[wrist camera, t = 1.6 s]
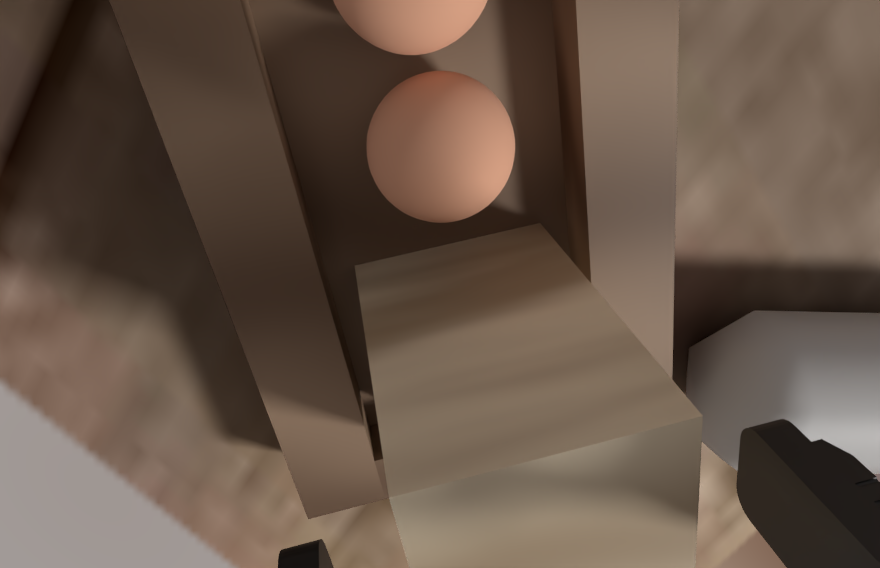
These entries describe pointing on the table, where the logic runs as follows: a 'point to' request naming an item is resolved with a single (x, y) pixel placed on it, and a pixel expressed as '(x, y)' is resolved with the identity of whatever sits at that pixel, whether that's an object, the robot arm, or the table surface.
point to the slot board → (368, 211)
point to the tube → (791, 380)
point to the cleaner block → (524, 413)
